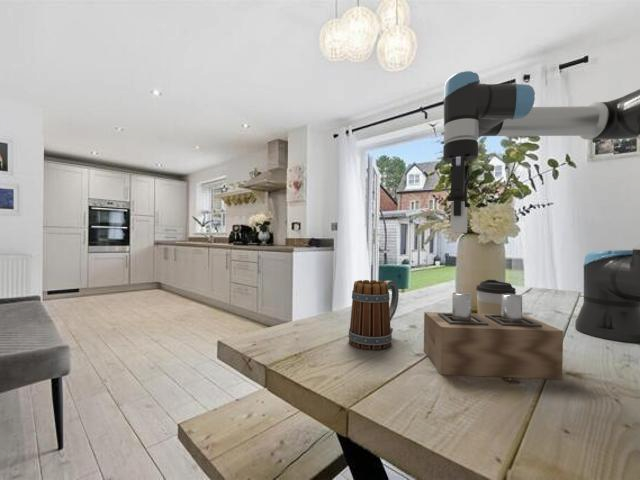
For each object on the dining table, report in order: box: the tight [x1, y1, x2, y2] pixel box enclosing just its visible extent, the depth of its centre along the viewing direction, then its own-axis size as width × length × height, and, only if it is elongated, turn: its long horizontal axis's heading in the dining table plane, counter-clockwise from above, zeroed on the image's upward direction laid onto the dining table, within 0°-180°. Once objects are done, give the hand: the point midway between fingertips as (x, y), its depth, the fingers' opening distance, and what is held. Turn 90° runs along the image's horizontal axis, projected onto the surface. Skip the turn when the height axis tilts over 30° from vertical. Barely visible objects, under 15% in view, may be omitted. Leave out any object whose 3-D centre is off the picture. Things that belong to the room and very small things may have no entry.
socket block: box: [423, 311, 564, 380], centre depth 64 cm, size 22×12×9 cm, turn 86°
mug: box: [348, 279, 400, 351], centre depth 77 cm, size 16×11×15 cm
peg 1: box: [451, 291, 472, 322], centre depth 64 cm, size 4×4×8 cm
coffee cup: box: [475, 279, 517, 314], centre depth 80 cm, size 9×9×15 cm
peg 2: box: [501, 293, 523, 323], centre depth 63 cm, size 4×4×8 cm
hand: (459, 232), depth 73 cm, fingers open, 13 cm apart
